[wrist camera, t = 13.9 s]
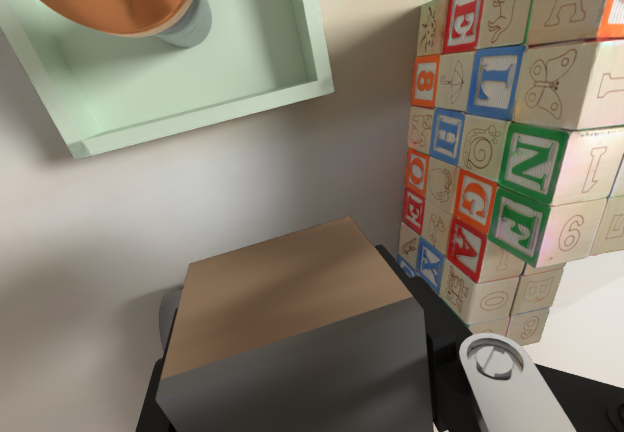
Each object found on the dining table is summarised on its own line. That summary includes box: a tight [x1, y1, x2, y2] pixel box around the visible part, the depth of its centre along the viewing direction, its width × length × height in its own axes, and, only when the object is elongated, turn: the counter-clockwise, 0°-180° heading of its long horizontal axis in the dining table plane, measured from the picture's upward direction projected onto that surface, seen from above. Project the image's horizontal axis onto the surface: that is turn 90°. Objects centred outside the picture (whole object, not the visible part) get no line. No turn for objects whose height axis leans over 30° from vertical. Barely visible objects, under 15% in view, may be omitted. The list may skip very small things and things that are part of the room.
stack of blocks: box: [398, 0, 624, 346], centre depth 20 cm, size 21×6×12 cm, turn 2°
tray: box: [0, 0, 335, 160], centre depth 16 cm, size 14×11×3 cm
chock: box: [155, 216, 434, 432], centre depth 9 cm, size 5×5×4 cm
